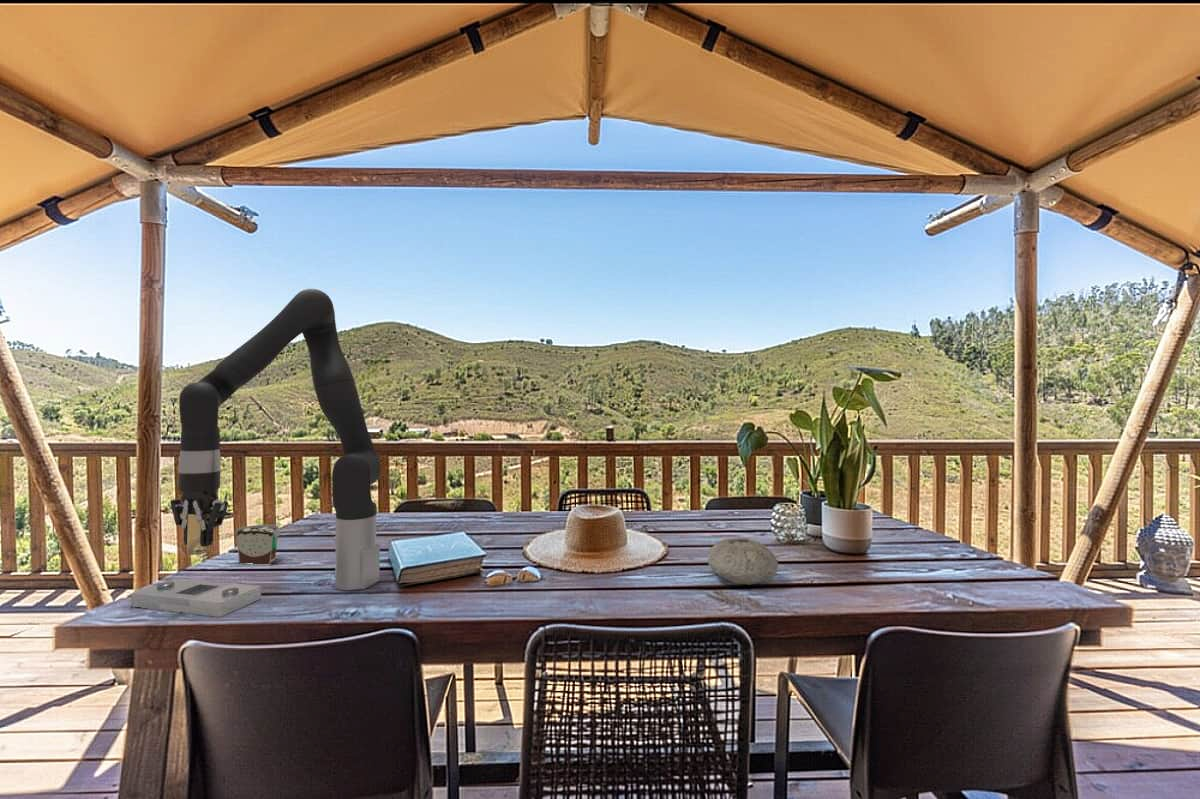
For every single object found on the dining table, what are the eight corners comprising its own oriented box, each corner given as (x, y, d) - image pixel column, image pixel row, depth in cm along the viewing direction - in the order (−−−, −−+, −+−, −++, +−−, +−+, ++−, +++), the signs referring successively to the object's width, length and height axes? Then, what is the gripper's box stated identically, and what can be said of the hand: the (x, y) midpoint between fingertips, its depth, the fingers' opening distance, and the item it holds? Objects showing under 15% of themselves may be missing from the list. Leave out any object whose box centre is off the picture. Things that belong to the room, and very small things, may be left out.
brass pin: (213, 550, 115) (214, 511, 115) (196, 555, 111) (197, 515, 111) (199, 549, 116) (200, 510, 116) (182, 554, 112) (183, 514, 112)
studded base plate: (260, 599, 115) (261, 583, 115) (220, 617, 106) (220, 600, 106) (177, 590, 120) (177, 575, 120) (130, 607, 110) (131, 590, 110)
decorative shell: (792, 587, 125) (793, 547, 125) (733, 596, 119) (733, 554, 119) (748, 565, 142) (748, 530, 142) (694, 572, 136) (694, 536, 136)
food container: (290, 559, 145) (291, 524, 145) (274, 565, 139) (275, 530, 139) (251, 557, 146) (252, 523, 146) (234, 564, 140) (234, 528, 140)
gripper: (240, 469, 115) (239, 542, 115) (191, 466, 118) (189, 538, 118) (209, 473, 108) (207, 552, 108) (157, 470, 111) (155, 547, 111)
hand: (198, 544), depth 113 cm, fingers closed on brass pin, 4 cm apart
